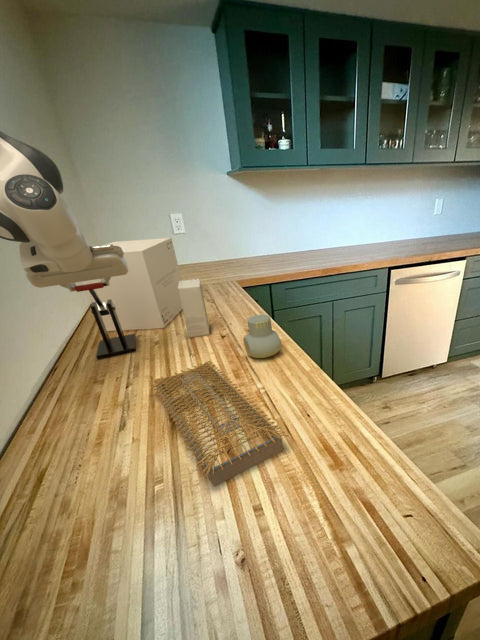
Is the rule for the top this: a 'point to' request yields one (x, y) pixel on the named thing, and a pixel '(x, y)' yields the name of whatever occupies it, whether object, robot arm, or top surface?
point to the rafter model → (206, 394)
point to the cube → (143, 286)
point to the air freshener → (261, 337)
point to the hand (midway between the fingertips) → (90, 286)
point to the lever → (95, 296)
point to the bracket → (112, 345)
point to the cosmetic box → (194, 307)
